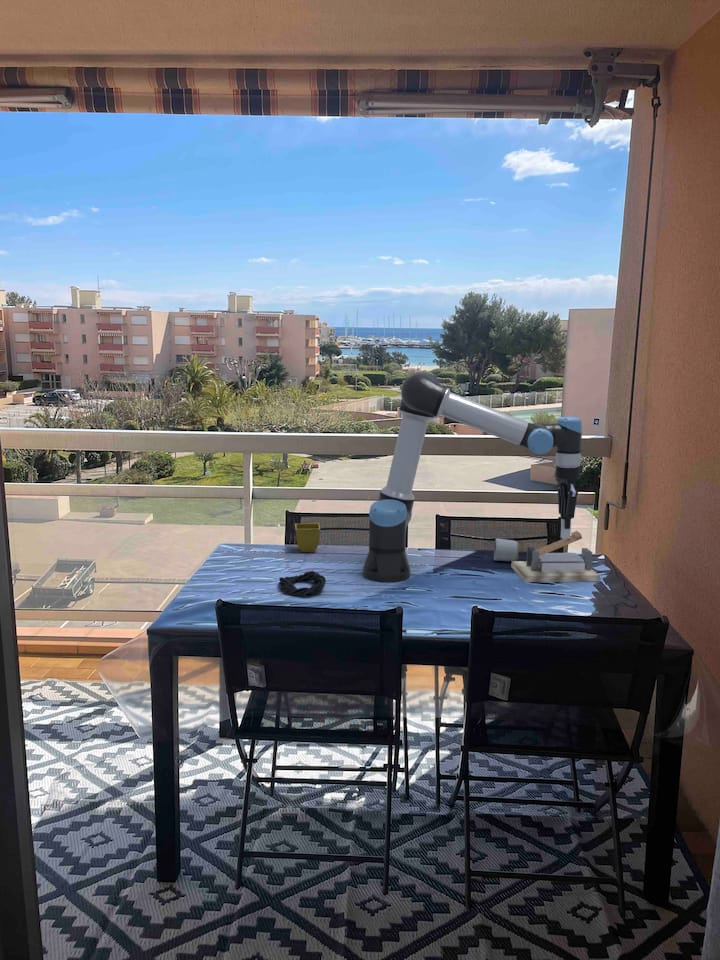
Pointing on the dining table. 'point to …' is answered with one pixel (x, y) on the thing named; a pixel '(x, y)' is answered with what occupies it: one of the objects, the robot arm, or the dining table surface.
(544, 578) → the board
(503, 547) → the ceramic mug
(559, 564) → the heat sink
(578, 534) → the strap
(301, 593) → the cable
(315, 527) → the flower pot
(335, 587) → the dining table surface
